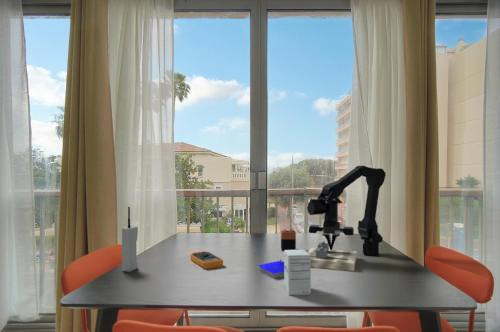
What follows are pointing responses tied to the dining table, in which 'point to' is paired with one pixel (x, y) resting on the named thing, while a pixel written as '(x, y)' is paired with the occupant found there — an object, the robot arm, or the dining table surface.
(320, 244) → the switch tab
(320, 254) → the switch tab
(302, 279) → the supplement box
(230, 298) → the dining table surface
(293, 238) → the battery
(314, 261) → the switch board
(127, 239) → the vintage mobile phone
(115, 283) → the dining table surface
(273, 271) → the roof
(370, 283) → the dining table surface
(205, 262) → the multimeter
